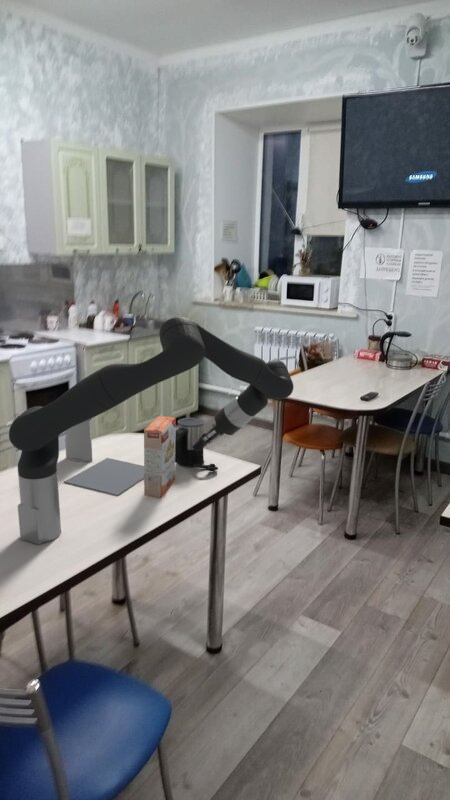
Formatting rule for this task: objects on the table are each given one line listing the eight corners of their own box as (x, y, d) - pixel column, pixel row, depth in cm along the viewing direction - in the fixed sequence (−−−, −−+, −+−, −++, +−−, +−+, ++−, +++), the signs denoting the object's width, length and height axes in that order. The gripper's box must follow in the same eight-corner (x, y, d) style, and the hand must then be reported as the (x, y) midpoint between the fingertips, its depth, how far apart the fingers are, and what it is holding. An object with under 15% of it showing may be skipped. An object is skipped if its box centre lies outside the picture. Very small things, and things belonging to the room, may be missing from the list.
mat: (117, 496, 167) (117, 494, 167) (64, 482, 175) (64, 481, 175) (157, 470, 186) (157, 468, 186) (107, 458, 194) (107, 457, 194)
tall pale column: (62, 459, 192) (58, 397, 186) (68, 455, 196) (64, 394, 190) (90, 463, 190) (87, 400, 184) (96, 459, 194) (93, 397, 188)
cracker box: (163, 498, 166) (162, 431, 160) (143, 496, 167) (142, 429, 161) (176, 479, 179) (176, 416, 174) (158, 477, 181) (157, 415, 175)
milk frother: (182, 456, 199) (183, 415, 194) (226, 461, 194) (227, 420, 190) (167, 471, 185) (167, 428, 181) (213, 478, 181) (214, 434, 177)
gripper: (233, 432, 150) (192, 466, 159) (252, 419, 162) (213, 451, 170) (216, 410, 151) (176, 445, 159) (236, 398, 162) (198, 432, 171)
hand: (195, 448), depth 165 cm, fingers closed
